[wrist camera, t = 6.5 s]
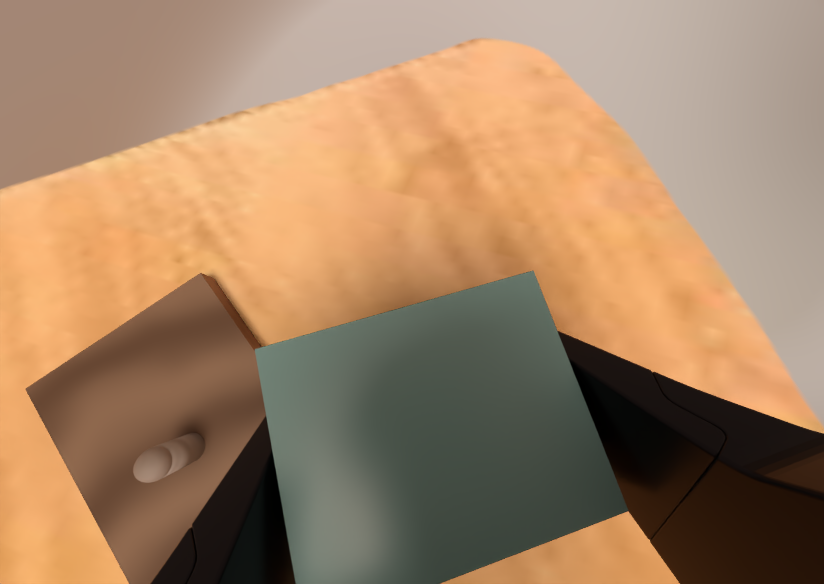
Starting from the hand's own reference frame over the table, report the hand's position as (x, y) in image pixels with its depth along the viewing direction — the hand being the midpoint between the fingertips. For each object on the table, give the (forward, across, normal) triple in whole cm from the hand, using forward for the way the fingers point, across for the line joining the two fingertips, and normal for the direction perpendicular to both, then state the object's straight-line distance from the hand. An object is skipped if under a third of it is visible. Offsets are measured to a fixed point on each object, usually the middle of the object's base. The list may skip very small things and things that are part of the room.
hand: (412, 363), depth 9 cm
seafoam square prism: (+4, 0, +6) cm, 7 cm away
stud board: (+8, +15, +10) cm, 20 cm away
